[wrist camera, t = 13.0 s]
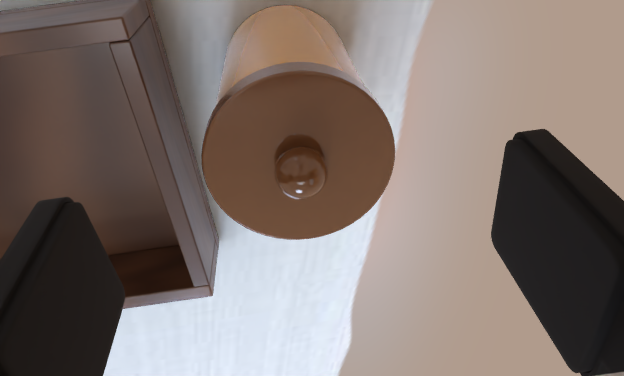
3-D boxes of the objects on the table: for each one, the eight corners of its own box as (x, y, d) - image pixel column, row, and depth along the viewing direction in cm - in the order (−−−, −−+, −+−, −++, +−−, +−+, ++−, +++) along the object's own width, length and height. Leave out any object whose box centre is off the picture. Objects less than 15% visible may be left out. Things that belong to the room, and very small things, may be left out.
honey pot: (345, -8, 20) (407, 73, 12) (352, 117, 23) (405, 250, 15) (208, 10, 20) (170, 105, 11) (235, 133, 23) (221, 276, 15)
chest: (148, -9, 19) (122, 16, 16) (219, 241, 27) (213, 296, 23) (-259, 45, 19) (-380, 83, 15) (-70, 282, 26) (-122, 345, 23)
